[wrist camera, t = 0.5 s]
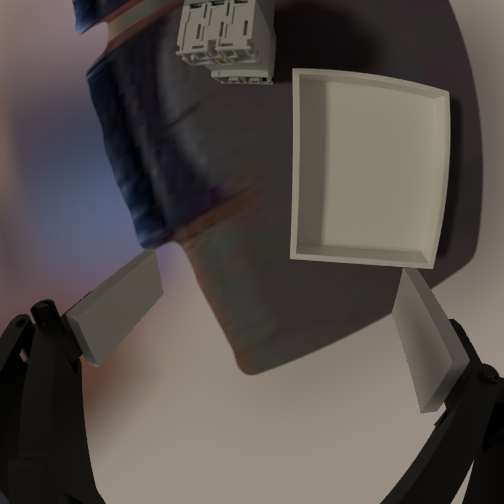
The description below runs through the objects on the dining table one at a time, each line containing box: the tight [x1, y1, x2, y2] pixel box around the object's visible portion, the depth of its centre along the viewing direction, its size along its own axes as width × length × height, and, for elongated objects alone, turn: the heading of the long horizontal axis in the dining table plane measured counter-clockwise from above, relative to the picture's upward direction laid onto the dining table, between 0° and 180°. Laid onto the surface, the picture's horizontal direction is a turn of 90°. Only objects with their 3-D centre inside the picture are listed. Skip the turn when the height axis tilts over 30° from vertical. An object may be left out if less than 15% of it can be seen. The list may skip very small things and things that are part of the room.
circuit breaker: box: [176, 0, 277, 85], centre depth 24 cm, size 8×14×15 cm, turn 175°
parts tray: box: [290, 68, 450, 269], centre depth 33 cm, size 26×22×4 cm
